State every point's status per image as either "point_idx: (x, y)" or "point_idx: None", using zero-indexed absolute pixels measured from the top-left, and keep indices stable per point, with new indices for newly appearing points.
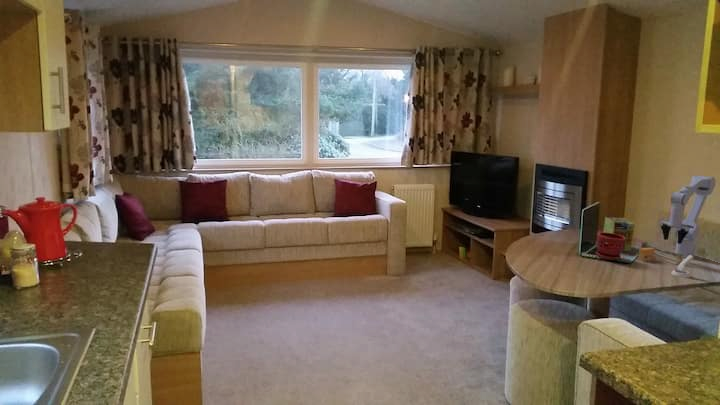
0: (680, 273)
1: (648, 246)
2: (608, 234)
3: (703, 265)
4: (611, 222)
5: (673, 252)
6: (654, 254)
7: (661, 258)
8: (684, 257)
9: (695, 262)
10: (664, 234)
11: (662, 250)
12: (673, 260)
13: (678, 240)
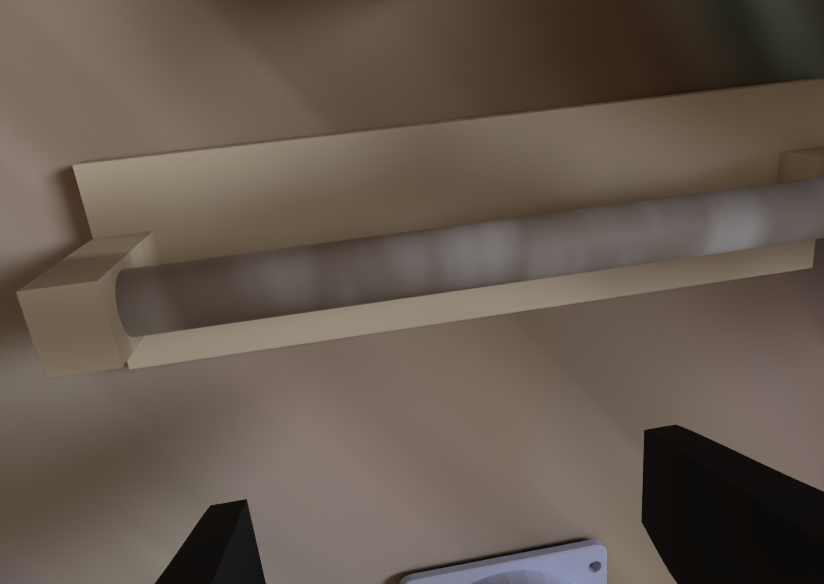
0: None
1: (790, 183)
2: None
3: (40, 578)
4: None
5: (248, 297)
6: (594, 199)
7: (380, 130)
8: (401, 579)
9: None
10: (777, 502)
11: (480, 229)
12: (233, 250)
13: (190, 562)
